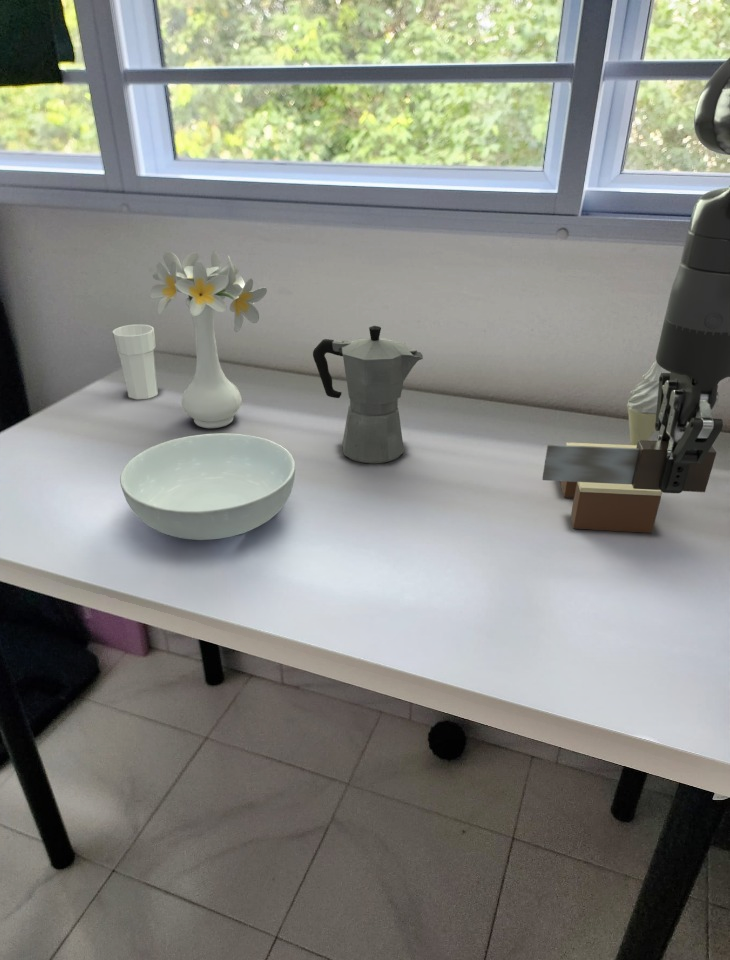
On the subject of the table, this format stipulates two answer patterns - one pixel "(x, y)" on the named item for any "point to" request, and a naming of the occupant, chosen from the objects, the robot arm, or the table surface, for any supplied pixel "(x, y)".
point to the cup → (137, 359)
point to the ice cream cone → (644, 406)
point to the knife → (621, 465)
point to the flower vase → (207, 328)
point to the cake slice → (614, 507)
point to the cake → (570, 487)
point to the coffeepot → (370, 393)
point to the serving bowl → (208, 484)
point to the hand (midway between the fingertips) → (666, 484)
